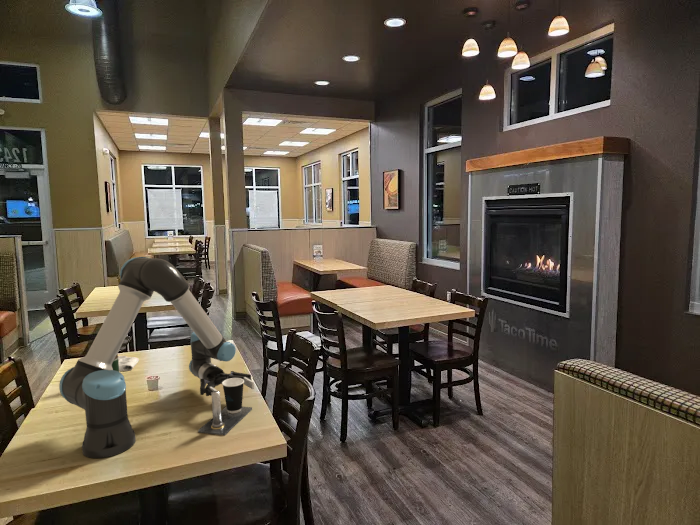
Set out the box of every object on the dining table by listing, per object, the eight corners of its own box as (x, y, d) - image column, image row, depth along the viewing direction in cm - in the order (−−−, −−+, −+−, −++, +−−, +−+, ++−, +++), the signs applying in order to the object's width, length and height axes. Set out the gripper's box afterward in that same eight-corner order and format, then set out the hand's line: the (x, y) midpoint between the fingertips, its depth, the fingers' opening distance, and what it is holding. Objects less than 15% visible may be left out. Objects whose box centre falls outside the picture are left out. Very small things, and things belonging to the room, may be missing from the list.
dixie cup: (246, 404, 173) (244, 376, 172) (245, 414, 166) (243, 384, 164) (224, 406, 172) (222, 378, 171) (222, 416, 164) (220, 386, 163)
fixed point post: (219, 428, 155) (217, 394, 154) (210, 427, 156) (208, 393, 154) (225, 423, 158) (223, 390, 157) (215, 422, 159) (213, 389, 158)
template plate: (224, 435, 152) (224, 432, 152) (198, 432, 155) (198, 429, 155) (252, 409, 171) (252, 407, 171) (228, 407, 174) (227, 404, 174)
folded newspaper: (130, 373, 213) (96, 376, 210) (140, 360, 230) (109, 363, 228) (130, 366, 213) (96, 369, 210) (140, 354, 230) (108, 356, 227)
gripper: (240, 375, 191) (266, 390, 175) (180, 392, 175) (203, 410, 159) (240, 358, 190) (265, 372, 174) (179, 373, 174) (202, 389, 158)
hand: (236, 390), depth 167 cm, fingers open, 13 cm apart
